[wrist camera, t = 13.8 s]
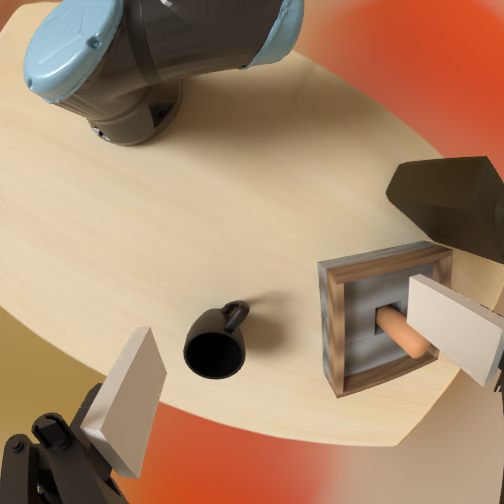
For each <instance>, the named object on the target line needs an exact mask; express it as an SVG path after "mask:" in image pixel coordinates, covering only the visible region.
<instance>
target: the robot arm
mask: <svg viewBox="0 0 504 504" xmlns="http://www.w3.org/2000/svg"><path fill="white" fill-rule="evenodd" d="M303 15H304V0H64V1H63V2H62V3H61V4H59V5H58V6H57V7H56V8H55V9H54V10H53V11H52V12H51V13H50V14H49V15H48V16H47V17H46V18H45V20H44V21H43V22H42V24H41V25H40V27H39V28H38V29H37V31H36V32H35V34H34V36H33V37H32V39H31V41H30V43H29V46H28V48H27V51H26V54H25V58H24V64H23V76H24V80H25V83H26V85H27V87H28V88H29V89H30V90H31V91H32V92H33V93H35V94H37V95H39V96H41V97H42V99H43V100H45V101H46V102H48V103H51V104H55V105H57V106H60V107H62V108H64V109H67V110H69V111H72V112H74V113H76V114H78V115H81V116H83V117H85V118H87V120H88V122H89V124H90V126H91V128H92V129H93V131H94V132H95V133H96V134H97V135H98V136H99V137H101V138H102V139H104V140H106V141H108V142H110V143H113V144H116V145H122V146H130V145H136V144H140V143H143V142H145V141H148V140H150V139H152V138H153V137H155V136H156V135H158V134H159V133H160V132H161V131H163V130H164V129H165V128H166V127H167V126H168V124H169V123H170V122H171V121H172V119H173V118H174V116H175V114H176V112H177V110H178V108H179V105H180V101H181V95H182V89H181V83H180V80H179V79H182V78H187V77H191V76H196V75H201V74H206V73H212V72H217V71H223V70H230V69H239V70H242V69H247V68H249V67H251V66H257V65H264V64H272V63H275V62H278V61H280V60H281V59H282V58H284V57H285V56H287V55H288V54H289V53H290V51H291V50H292V48H293V47H294V45H295V43H296V41H297V39H298V36H299V33H300V30H301V26H302V21H303ZM406 323H407V324H409V325H410V326H411V327H412V328H414V329H415V330H416V331H417V332H418V333H420V334H421V335H422V336H423V337H425V338H426V339H427V340H428V341H429V342H431V343H432V344H433V345H434V346H436V347H437V348H438V349H439V350H440V351H442V352H443V353H444V354H445V355H446V356H447V357H449V358H450V359H451V360H452V361H453V362H455V363H456V364H457V365H458V366H459V367H460V368H462V369H463V370H464V371H465V372H466V373H468V374H469V375H470V376H471V377H472V378H473V379H474V380H475V381H477V382H478V383H479V384H480V385H481V386H482V387H484V386H485V385H487V384H488V383H489V382H490V381H492V380H493V379H494V376H495V374H496V371H497V369H498V368H499V369H500V370H502V372H501V374H500V376H499V379H498V381H497V384H496V386H495V388H494V392H496V390H497V388H498V386H500V385H501V387H500V390H499V392H502V401H503V413H504V317H502V316H501V315H499V314H496V313H495V312H494V311H492V310H490V309H488V308H486V307H485V306H483V305H480V304H478V303H476V302H474V301H472V300H470V299H468V298H467V297H465V296H463V295H461V294H459V293H457V292H455V291H453V290H451V289H449V288H447V287H445V286H443V285H441V284H439V283H437V282H435V281H433V280H431V279H429V278H427V277H425V276H423V275H421V274H418V275H414V276H411V277H410V279H409V298H408V311H407V322H406ZM166 374H167V372H166V370H165V367H164V364H163V362H162V359H161V356H160V354H159V351H158V348H157V345H156V342H155V340H154V337H153V334H152V331H151V328H150V327H143V328H136V329H135V330H134V332H133V334H132V335H131V337H130V339H129V340H128V342H127V344H126V345H125V347H124V349H123V350H122V352H121V354H120V355H119V357H118V359H117V360H116V362H115V364H114V366H113V367H112V369H111V371H110V373H109V374H108V376H107V378H106V380H105V381H104V383H98V384H97V385H95V386H94V387H93V388H92V389H91V390H90V391H89V393H88V394H87V396H86V398H85V401H83V403H82V405H81V408H79V410H78V412H77V413H76V415H75V417H74V419H73V421H72V422H71V424H70V426H68V425H67V424H66V422H65V421H64V419H63V418H62V416H61V415H59V414H57V413H47V414H44V415H42V416H40V417H39V418H38V419H37V420H35V422H34V424H33V425H32V433H33V434H34V436H35V437H36V438H37V439H38V441H39V442H40V443H41V444H33V443H32V442H31V440H30V439H29V438H28V437H27V436H26V435H24V434H16V435H13V436H12V437H10V438H9V439H8V441H7V442H6V444H5V448H4V454H3V460H2V468H1V478H0V504H129V503H128V501H127V500H126V498H125V497H124V495H123V494H122V492H121V491H120V489H119V487H118V486H117V484H116V482H115V481H114V479H113V478H112V477H111V476H110V474H111V471H112V468H113V469H114V471H115V472H116V473H117V474H118V475H120V477H127V478H135V479H139V477H140V472H141V468H142V464H143V460H144V456H145V451H146V447H147V443H148V439H149V436H150V431H151V428H152V424H153V420H154V416H155V413H156V409H157V405H158V402H159V398H160V395H161V391H162V388H163V384H164V381H165V377H166ZM37 486H38V487H39V493H38V488H37ZM499 504H504V470H503V481H502V490H501V496H500V503H499Z"/></svg>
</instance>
